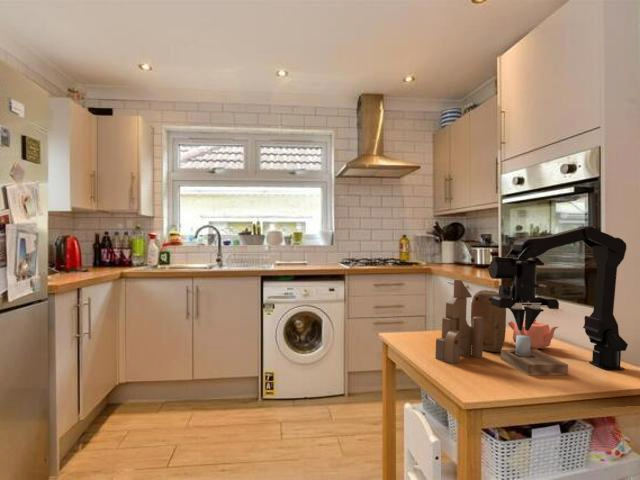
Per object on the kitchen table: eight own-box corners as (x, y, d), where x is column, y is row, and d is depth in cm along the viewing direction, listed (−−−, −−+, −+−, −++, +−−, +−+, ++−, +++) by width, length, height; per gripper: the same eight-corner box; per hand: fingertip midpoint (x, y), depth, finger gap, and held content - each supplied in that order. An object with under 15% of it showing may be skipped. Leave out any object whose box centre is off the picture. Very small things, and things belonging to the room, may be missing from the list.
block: (507, 351, 132) (509, 292, 132) (495, 354, 128) (497, 294, 127) (477, 343, 141) (480, 288, 140) (465, 346, 136) (467, 289, 136)
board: (536, 359, 124) (536, 349, 124) (567, 375, 110) (568, 364, 110) (500, 358, 123) (501, 349, 123) (527, 375, 109) (528, 364, 109)
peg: (524, 360, 121) (525, 335, 121) (533, 365, 117) (534, 338, 116) (512, 360, 120) (513, 334, 120) (519, 365, 116) (520, 338, 116)
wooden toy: (452, 364, 116) (455, 282, 116) (435, 358, 122) (437, 279, 121) (484, 357, 124) (487, 280, 124) (466, 351, 130) (469, 277, 130)
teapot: (511, 349, 134) (512, 320, 134) (506, 340, 146) (507, 313, 145) (558, 354, 130) (559, 324, 130) (549, 345, 141) (550, 317, 141)
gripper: (537, 277, 127) (535, 324, 127) (482, 276, 125) (481, 323, 126) (561, 281, 116) (559, 333, 116) (501, 280, 114) (499, 332, 114)
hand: (523, 330), depth 118 cm, fingers closed
